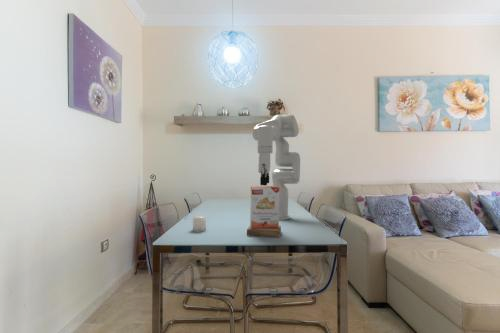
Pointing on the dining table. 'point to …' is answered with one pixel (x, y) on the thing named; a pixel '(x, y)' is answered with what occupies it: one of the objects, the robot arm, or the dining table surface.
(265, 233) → the plinth
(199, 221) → the white small block
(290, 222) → the dining table surface
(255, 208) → the cracker box
